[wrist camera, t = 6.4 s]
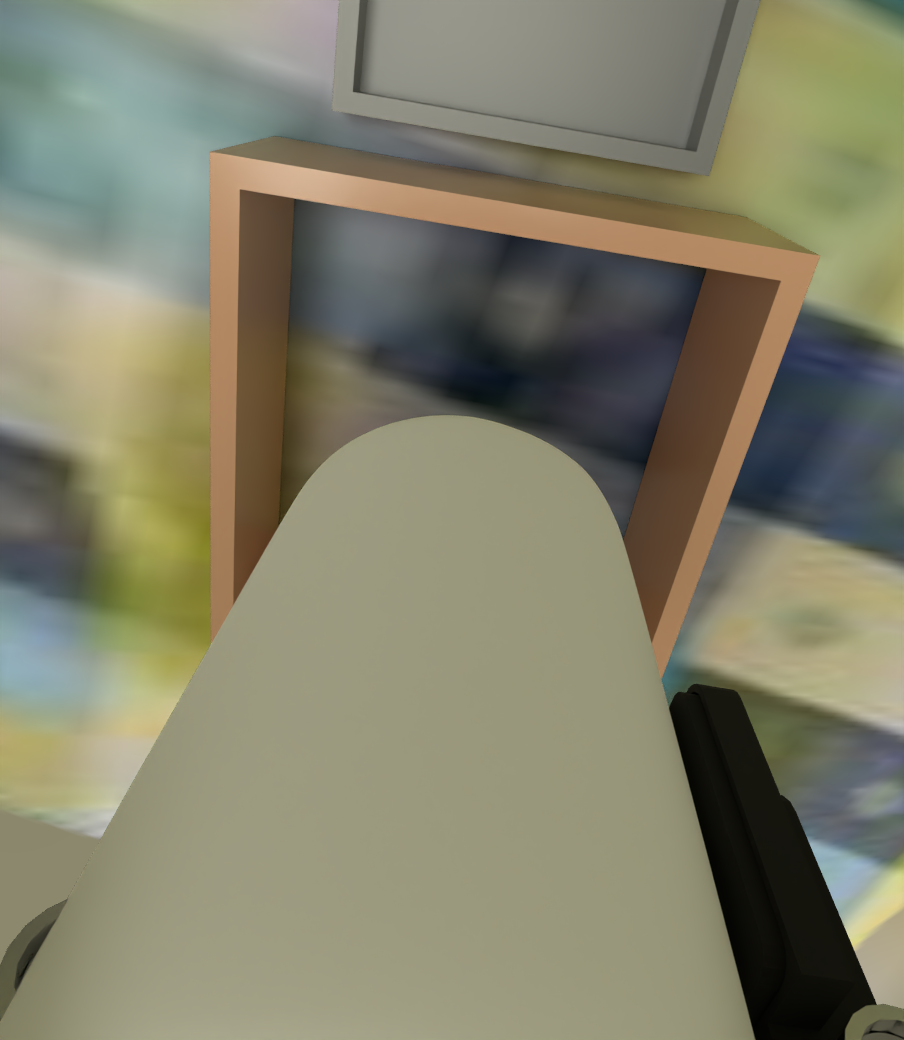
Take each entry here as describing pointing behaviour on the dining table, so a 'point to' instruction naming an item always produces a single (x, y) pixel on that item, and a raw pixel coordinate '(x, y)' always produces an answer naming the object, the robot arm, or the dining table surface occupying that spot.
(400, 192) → the brown square frame
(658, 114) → the tray
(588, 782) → the can
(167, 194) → the dining table surface
